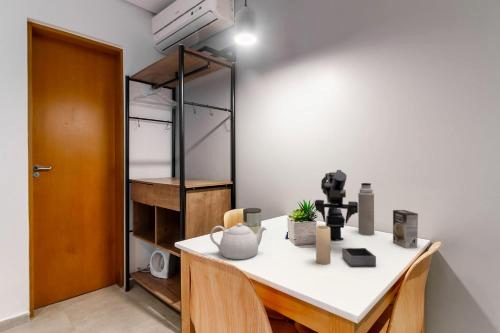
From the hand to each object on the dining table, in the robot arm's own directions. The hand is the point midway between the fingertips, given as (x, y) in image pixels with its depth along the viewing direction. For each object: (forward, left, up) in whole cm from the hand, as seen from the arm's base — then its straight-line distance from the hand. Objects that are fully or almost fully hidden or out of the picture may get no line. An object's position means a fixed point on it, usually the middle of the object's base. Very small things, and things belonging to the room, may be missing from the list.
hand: (335, 222), depth 117 cm
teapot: (-14, -41, -14) cm, 45 cm away
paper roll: (+7, -11, -14) cm, 19 cm away
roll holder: (+12, +2, -14) cm, 18 cm away
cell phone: (-30, -6, -14) cm, 33 cm away
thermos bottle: (-20, +34, -14) cm, 42 cm away
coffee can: (-40, -26, -14) cm, 49 cm away
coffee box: (+2, +37, -14) cm, 40 cm away
